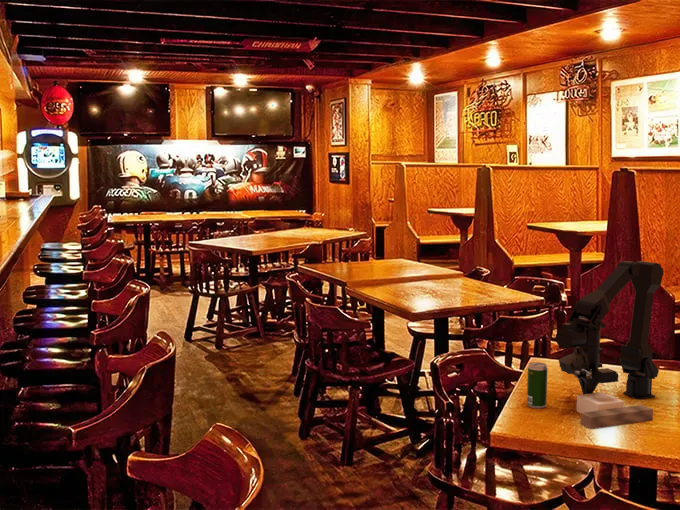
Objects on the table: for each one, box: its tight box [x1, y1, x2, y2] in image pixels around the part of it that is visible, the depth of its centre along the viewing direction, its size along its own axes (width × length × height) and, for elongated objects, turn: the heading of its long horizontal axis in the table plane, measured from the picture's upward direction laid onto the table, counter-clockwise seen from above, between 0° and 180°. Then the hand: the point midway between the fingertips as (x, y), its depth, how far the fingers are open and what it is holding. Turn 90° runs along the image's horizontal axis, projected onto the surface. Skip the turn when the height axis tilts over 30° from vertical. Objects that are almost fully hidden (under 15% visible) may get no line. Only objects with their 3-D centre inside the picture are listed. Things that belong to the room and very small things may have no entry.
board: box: [580, 404, 654, 430], centre depth 203 cm, size 20×4×3 cm, turn 110°
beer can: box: [526, 361, 548, 410], centre depth 216 cm, size 5×5×12 cm
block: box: [576, 391, 624, 414], centre depth 209 cm, size 8×9×5 cm
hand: (586, 399), depth 214 cm, fingers closed
